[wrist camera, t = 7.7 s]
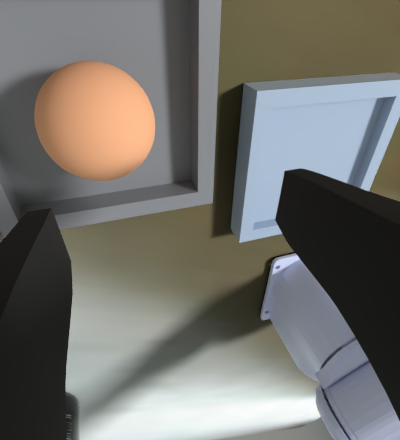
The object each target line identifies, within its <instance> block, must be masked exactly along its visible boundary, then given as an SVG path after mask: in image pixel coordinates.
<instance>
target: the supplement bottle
mask: <svg viewBox="0 0 400 440" xmlns="http://www.w3.org/2000/svg"><path fill="white" fill-rule="evenodd" d="M65 398H66V440H79V403H78V400H77V399H76V398H75V397H74V396H73V395H71V394H69V393H65Z"/></svg>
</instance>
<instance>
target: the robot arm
mask: <svg viewBox="0 0 400 440" xmlns="http://www.w3.org/2000/svg"><path fill="white" fill-rule="evenodd" d="M275 221H276V223H277V225H278V226H279V228H280V230H281V232H282V234H283V236H284V237H285V239H286V241H287V242H288V244H289V245H290V247H291V248H292V249H293V251H294V252H295V253H294V254H290V255H286V256H282V257H277V258H275V259H274V260H273V261H272V265H271V269H270V274H269V278H268V283H267V288H266V292H265V297H264V301H263V306H262V310H261V315H260V318H261V319H262V320H267V319H270V320H271V322H272V323H273V325H274V327H275V329H276V330H277V332H278V334H279V336H280V337H281V339H282V341H283V343H284V344H285V346H286V348H287V350H288V351H289V353H290V355H291V357H292V358H293V360H294V362H295V363H296V365H297V366H298V368H299V369H300V370H301V371H302V372H303V373H304V374H305V375H307V376H308V377H310V378H311V379H313V380H315V381H317V382H319V383H320V384H321V385H319V386H318V387H317V388H316V405H317V408H318V411H319V413H320V416H321V418H322V420H323V422H324V424H325V426H326V427H327V429H328V431H329V433H330V434H331V436H332V438H333V439H334V440H400V202H399V201H396V200H393V199H390V198H386V197H383V196H381V195H378V194H375V193H372V192H369V191H366V190H364V189H361V188H358V187H355V186H353V185H350V184H347V183H345V182H342V181H339V180H336V179H334V178H331V177H328V176H325V175H322V174H320V173H317V172H313V171H310V170H306V169H302V168H299V169H293V170H287V171H285V172H284V177H283V182H282V187H281V193H280V198H279V203H278V208H277V213H276V218H275ZM71 305H72V271H71V260H70V257H69V255H68V252H67V249H66V246H65V244H64V241H63V238H62V235H61V233H60V230H59V227H58V224H57V222H56V219H55V216H54V213H53V211H52V208H48V209H42V210H35V211H29V212H27V213H26V214H25V215H24V216H23V217H22V218H21V219H20V220H19V222H18V223H17V224H16V225H15V226H14V228H13V229H12V230H11V231H10V232H9V233H8V235H7V236H6V237H5V238H4V239H3V241H2V242H1V243H0V440H66V398H65V380H66V362H67V351H68V339H69V328H70V317H71Z"/></svg>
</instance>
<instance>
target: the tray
mask: <svg viewBox="0 0 400 440" xmlns="http://www.w3.org/2000/svg"><path fill="white" fill-rule="evenodd" d="M220 22H221V0H0V232H1V234H2V236H3V238H5V237H6V236H7V235H8V233H9V232H10V231H11V230H12V229H13V228H14V226H15V225H16V224H17V223H18V222H19V220H20V219H21V218H22V217H23V216H24V215H25V214H26V213H27V212H29V211H35V210H42V209H48V208H52V211H53V213H54V216H55V219H56V222H57V224H58V227H59V230H60V229H66V228H72V227H78V226H83V225H89V224H95V223H101V222H106V221H112V220H118V219H124V218H129V217H135V216H141V215H147V214H152V213H158V212H164V211H170V210H175V209H181V208H187V207H192V206H198V205H204V204H210V203H213V187H214V163H215V139H216V116H217V92H218V69H219V45H220ZM80 61H98V62H103V63H107V64H110V65H113V66H115V67H117V68H119V69H121V70H123V71H124V72H126V73H127V74H128V75H130V76H131V77H132V78H133V79H134V80H135V81H136V82H137V83H138V84H139V85H140V86H141V88H142V89H143V90H144V92H145V93H146V95H147V97H148V99H149V101H150V103H151V106H152V109H153V112H154V117H155V137H154V142H153V145H152V148H151V150H150V152H149V154H148V156H147V157H146V159H145V160H144V162H143V163H142V164H141V165H140V166H139V167H138V168H136V169H135V170H134V171H132V172H131V173H129V174H128V175H126V176H124V177H121V178H118V179H115V180H110V181H92V180H87V179H83V178H80V177H77V176H75V175H73V174H71V173H69V172H67V171H66V170H64V169H63V168H61V167H60V166H59V165H58V164H56V163H55V162H54V161H53V160H52V158H51V157H50V156H49V155H48V153H47V152H46V151H45V149H44V148H43V146H42V144H41V142H40V140H39V137H38V134H37V131H36V127H35V121H34V110H35V104H36V99H37V96H38V93H39V91H40V89H41V87H42V86H43V84H44V83H45V82H46V80H47V79H48V78H49V77H50V76H51V75H52V74H53V73H54V72H56V71H57V70H58V69H60V68H62V67H64V66H66V65H68V64H71V63H74V62H80Z"/></svg>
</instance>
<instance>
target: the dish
mask: <svg viewBox="0 0 400 440" xmlns="http://www.w3.org/2000/svg"><path fill="white" fill-rule="evenodd" d="M399 117H400V74H397V73H394V72H391V73H377V74H363V75H349V76H335V77H321V78H307V79H294V80H280V81H266V82H252V83H244V86H243V97H242V108H241V119H240V129H239V140H238V151H237V162H236V173H235V184H234V195H233V206H232V217H231V228H230V229H231V230H232V232H233V233H234V235H235V237H236V238H237V240H238V241H239V243H240V242H245V241H250V240H254V239H259V238H264V237H268V236H273V235H278V234H282V232H281V230H280V228H279V226H278V225H277V223H276V221H275V218H276V213H277V208H278V203H279V198H280V193H281V187H282V182H283V177H284V172H285V171H287V170H293V169H299V168H302V169H306V170H310V171H313V172H317V173H320V174H322V175H325V176H328V177H331V178H334V179H336V180H339V181H342V182H345V183H347V184H350V185H353V186H355V187H358V188H361V189H364V190H366V191H369V189H370V187H371V185H372V182H373V180H374V177H375V175H376V172H377V170H378V168H379V165H380V163H381V160H382V158H383V156H384V153H385V151H386V148H387V146H388V143H389V141H390V139H391V136H392V134H393V131H394V129H395V127H396V124H397V122H398V119H399Z"/></svg>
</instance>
